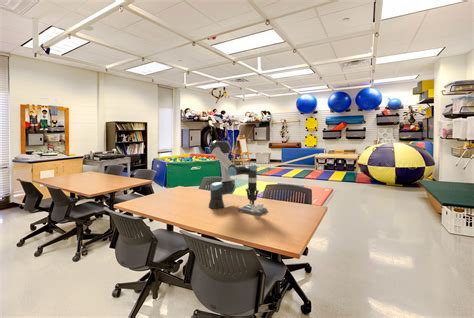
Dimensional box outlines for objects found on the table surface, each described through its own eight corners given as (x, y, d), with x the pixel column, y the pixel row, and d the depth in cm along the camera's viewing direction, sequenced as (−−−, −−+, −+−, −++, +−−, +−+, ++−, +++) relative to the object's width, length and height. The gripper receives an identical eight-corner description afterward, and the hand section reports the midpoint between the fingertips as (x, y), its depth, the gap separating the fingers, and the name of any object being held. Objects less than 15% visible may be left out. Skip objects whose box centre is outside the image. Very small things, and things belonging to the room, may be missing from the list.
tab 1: (251, 210, 220) (251, 205, 219) (253, 209, 223) (253, 204, 222) (255, 211, 217) (255, 206, 217) (257, 210, 221) (257, 205, 220)
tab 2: (257, 209, 224) (257, 203, 224) (259, 208, 228) (259, 202, 227) (261, 210, 222) (261, 204, 222) (263, 209, 225) (263, 203, 225)
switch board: (237, 211, 226) (237, 208, 225) (247, 207, 239) (247, 204, 238) (258, 215, 213) (258, 212, 213) (267, 211, 226) (267, 208, 225)
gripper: (244, 181, 220) (243, 207, 222) (256, 183, 212) (255, 210, 215) (248, 180, 226) (248, 205, 228) (260, 182, 218) (260, 208, 221)
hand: (251, 207), depth 221 cm, fingers closed
